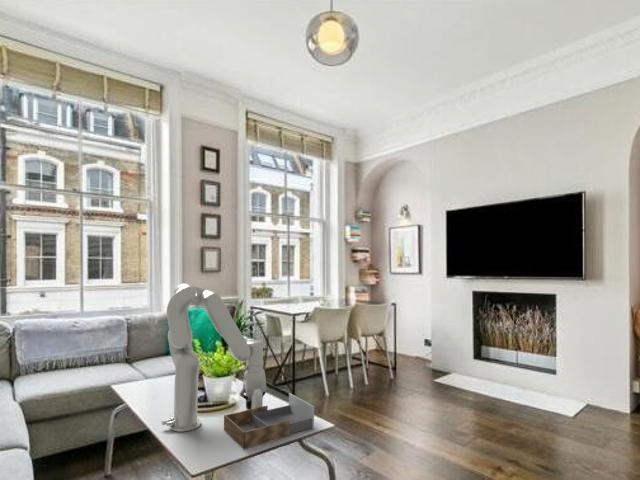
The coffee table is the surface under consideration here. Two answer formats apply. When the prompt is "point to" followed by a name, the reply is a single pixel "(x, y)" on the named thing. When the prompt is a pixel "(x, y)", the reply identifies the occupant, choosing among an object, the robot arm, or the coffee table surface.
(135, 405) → the coffee table surface
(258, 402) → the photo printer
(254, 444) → the walnut housing
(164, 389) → the coffee table surface
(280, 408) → the sliding tray
